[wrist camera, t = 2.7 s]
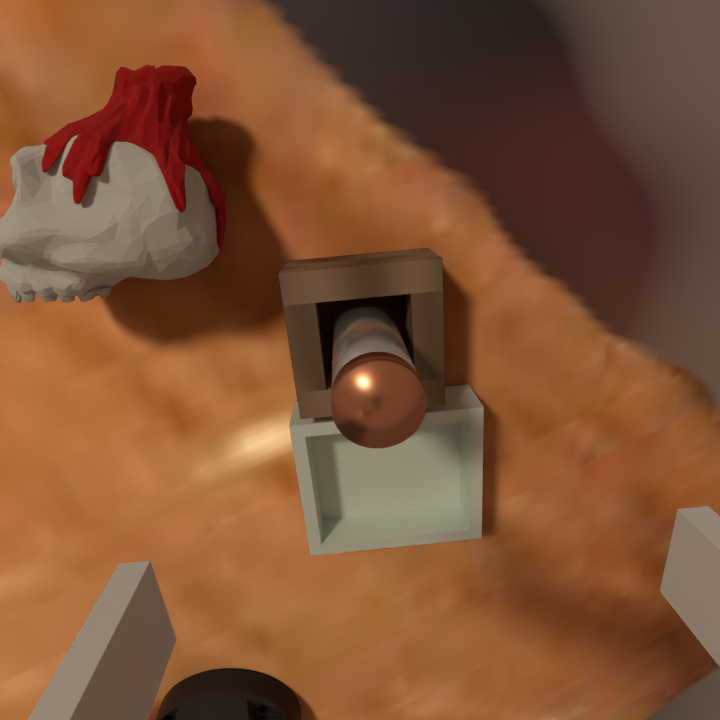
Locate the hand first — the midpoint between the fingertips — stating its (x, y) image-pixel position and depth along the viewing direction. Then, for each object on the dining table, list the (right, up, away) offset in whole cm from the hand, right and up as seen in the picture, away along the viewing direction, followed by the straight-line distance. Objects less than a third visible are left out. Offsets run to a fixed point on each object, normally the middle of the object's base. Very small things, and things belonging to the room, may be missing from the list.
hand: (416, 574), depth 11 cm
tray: (+1, -3, +27) cm, 27 cm away
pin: (-1, +8, +22) cm, 24 cm away
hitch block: (-1, +8, +22) cm, 24 cm away
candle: (-15, +16, +19) cm, 29 cm away
